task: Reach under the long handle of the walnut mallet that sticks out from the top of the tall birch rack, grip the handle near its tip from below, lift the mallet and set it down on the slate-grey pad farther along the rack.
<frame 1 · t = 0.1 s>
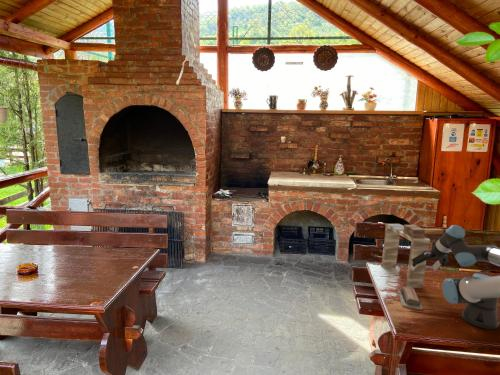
hand: (422, 268, 196), 15 cm above the table, tool tilted 35°, fingers open, 13 cm apart
rack: (400, 276, 222), on the table
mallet: (413, 235, 208), point 30 cm above the table, touching rack
packaged product: (409, 301, 191), on the table
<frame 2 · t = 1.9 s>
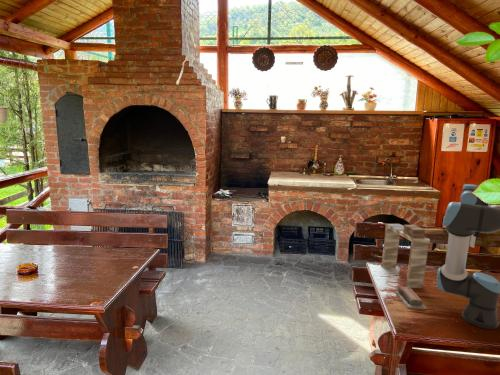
hand: (461, 247, 201), 27 cm above the table, tool pointing down, fingers open, 13 cm apart
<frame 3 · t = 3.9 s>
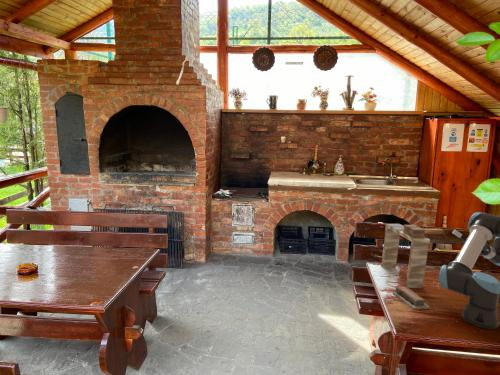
hand: (461, 234, 213), 30 cm above the table, tool pointing upward, fingers open, 13 cm apart
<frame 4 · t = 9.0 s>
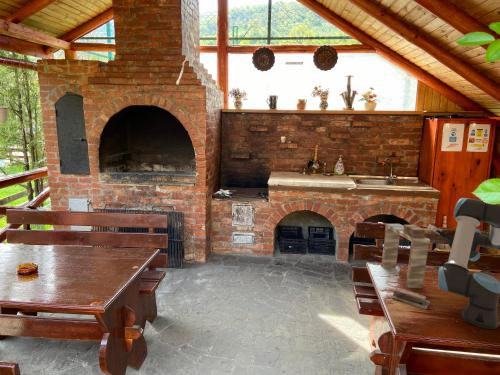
hand: (430, 226, 209), 35 cm above the table, tool pointing upward, fingers closed on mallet, 2 cm apart
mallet: (413, 235, 208), point 30 cm above the table, touching gripper
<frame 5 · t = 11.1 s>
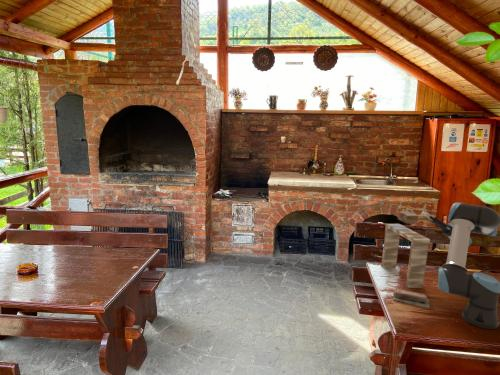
hand: (423, 213, 218), 41 cm above the table, tool pointing upward, fingers closed on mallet, 2 cm apart
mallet: (407, 221, 217), point 36 cm above the table, touching gripper
when the fingers open (36 cm above the table, at t = 13.4 s): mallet stays where it is, resting on rack.
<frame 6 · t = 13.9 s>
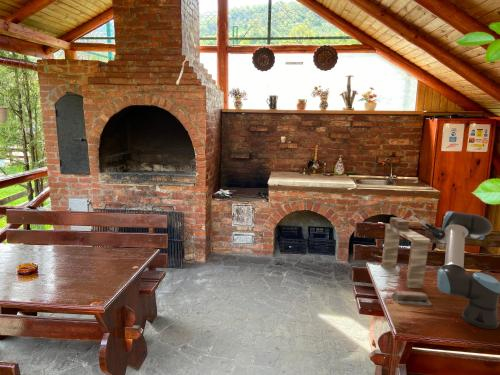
hand: (416, 219, 225), 36 cm above the table, tool pointing upward, fingers open, 10 cm apart
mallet: (398, 226, 224), point 30 cm above the table, touching rack
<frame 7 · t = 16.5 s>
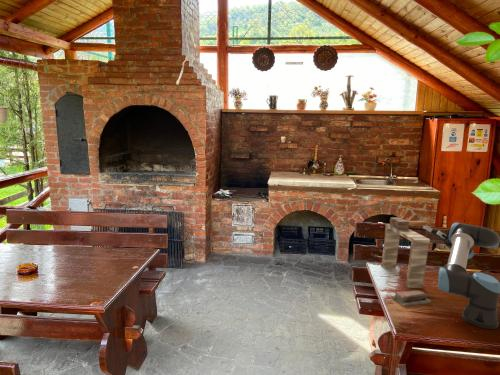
hand: (430, 228, 227), 29 cm above the table, tool pointing upward, fingers open, 13 cm apart
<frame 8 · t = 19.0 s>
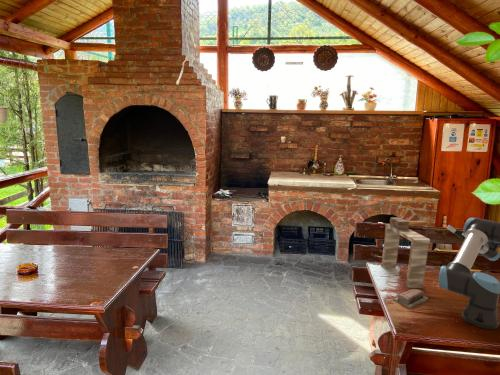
hand: (455, 229, 219), 32 cm above the table, tool pointing upward, fingers open, 13 cm apart
at the end: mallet 0.1 cm from the target spot on the rack, point 30.3 cm above the rack's base; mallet tilted 0°; the gripper is holding nothing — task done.
